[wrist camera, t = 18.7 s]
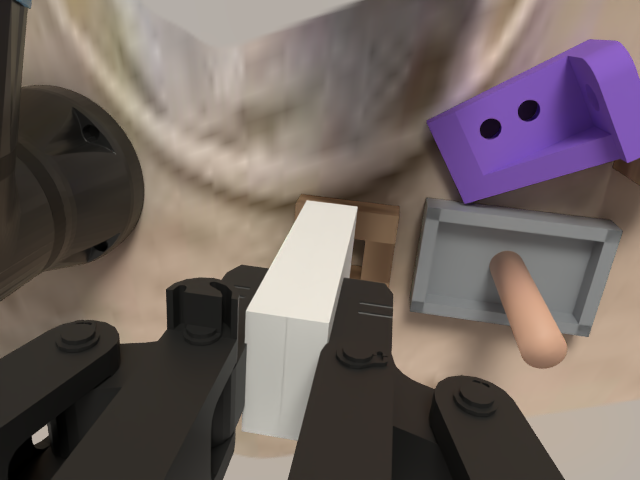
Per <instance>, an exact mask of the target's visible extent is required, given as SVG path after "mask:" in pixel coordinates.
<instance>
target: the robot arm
mask: <svg viewBox="0 0 640 480" xmlns="http://www.w3.org/2000/svg"><path fill="white" fill-rule="evenodd" d="M31 4H32V3H31V0H0V301H2V300H3V299H4V298H6V297H7V296H9V295H10V294H12V293H13V292H14V291H16V290H17V289H19V288H20V287H21V286H23V285H24V284H26V283H27V282H29V281H30V280H31V279H33V278H34V277H36V276H37V275H39V274H40V273H42V272H44V271H49V270H54V269H60V268H65V267H70V266H76V265H81V264H85V263H88V262H91V261H94V260H96V259H98V258H100V257H102V256H104V255H105V254H107V253H108V252H110V251H111V250H112V249H114V248H115V247H116V246H118V245H119V244H120V243H121V242H122V241H124V240H125V239H126V238H127V237H128V235H129V234H130V233H131V232H132V230H133V229H134V227H135V225H136V223H137V221H138V219H139V216H140V213H141V210H142V205H143V198H144V184H143V176H142V171H141V166H140V163H139V160H138V157H137V155H136V152H135V150H134V148H133V146H132V144H131V142H130V140H129V139H128V137H127V136H126V134H125V133H124V131H123V130H122V128H121V127H120V126H119V125H118V123H117V122H116V121H115V120H114V119H113V118H112V117H111V116H110V115H109V114H108V113H107V112H106V111H105V110H103V109H102V108H101V107H100V106H98V105H97V104H96V103H94V102H93V101H91V100H90V99H88V98H86V97H84V96H82V95H80V94H78V93H76V92H73V91H71V90H68V89H65V88H61V87H56V86H48V85H35V86H28V87H21V83H22V68H23V57H24V45H25V34H26V22H27V11H28V8H29V9H31ZM357 209H358V207H356V206H348V205H340V204H332V203H325V202H317V201H309V200H307V201H306V203H305V204H304V206H303V208H302V210H301V212H300V214H299V215H298V217H297V219H296V221H295V223H294V224H293V226H292V228H291V230H290V232H289V233H288V235H287V237H286V239H285V241H284V243H283V244H282V246H281V248H280V250H279V252H278V253H277V255H276V257H275V259H274V261H273V263H272V264H271V266H270V268H269V269H268V268H261V267H254V266H246V265H240V266H238V267H236V268H235V269H233V270H231V271H229V272H227V273H226V275H225V276H224V277H223V279H222V280H219V279H215V278H193V279H186V280H183V281H180V282H177V283H174V284H173V285H171V286H170V287H169V288H167V289H166V303H167V330H166V331H165V333H164V334H163V335H162V337H161V338H160V339H159V340H158V341H156V342H147V343H128V344H120V340H119V333H118V332H117V330H116V328H115V327H113V326H111V325H110V324H108V323H106V322H100V321H94V320H86V321H84V320H79V321H75V322H71V323H66V324H62V325H60V326H58V327H56V328H53V329H51V330H49V331H47V332H45V333H44V334H42V335H40V336H39V337H37V338H35V339H34V340H32V341H30V342H28V343H27V344H25V345H23V346H22V347H20V348H18V349H16V350H15V351H13V352H11V353H10V354H8V355H6V356H4V357H3V358H1V359H0V480H223V478H224V475H225V473H226V470H227V467H228V465H229V462H230V460H231V457H232V455H233V452H234V447H235V430H236V426H237V423H238V421H239V418H240V416H241V414H242V431H244V432H250V433H256V434H261V435H267V436H273V437H279V438H285V439H291V440H296V441H298V442H297V446H296V450H295V454H294V458H293V462H292V465H291V469H290V473H289V477H288V480H565V479H564V478H563V476H562V475H561V473H560V471H559V470H558V468H557V467H556V465H555V464H554V462H553V460H552V459H551V457H550V456H549V454H548V453H547V451H546V450H545V448H544V447H543V445H542V443H541V442H540V440H539V439H538V437H537V436H536V434H535V433H534V431H533V429H532V428H531V426H530V425H529V423H528V422H527V420H526V419H525V417H524V415H523V414H522V412H521V411H520V409H519V408H518V406H517V405H516V403H515V402H514V400H513V399H512V398H511V397H510V396H509V395H508V394H507V393H506V392H505V391H504V390H502V389H501V388H499V387H498V386H496V385H494V384H493V383H491V382H488V381H486V380H483V379H480V378H477V377H470V376H462V375H460V376H453V377H447V378H446V379H444V380H442V381H440V382H439V383H438V384H437V386H436V388H435V389H433V388H430V387H428V386H425V385H423V384H420V383H418V382H416V381H414V380H412V379H410V378H409V377H407V376H406V375H404V374H403V373H402V372H401V371H400V370H399V369H398V368H397V367H396V365H395V364H394V360H393V357H392V354H391V351H392V319H393V318H392V316H393V293H392V292H391V291H390V289H389V288H388V287H387V285H386V284H385V283H380V282H373V281H365V280H358V279H351V278H349V277H350V269H351V260H352V252H353V243H354V235H355V226H356V217H357ZM46 424H47V426H48V433H49V436H47V437H46V438H45V439H44V440H42V441H41V442H39V443H37V444H35V445H34V444H33V443H32V435H33V434H34V433H36V432H37V431H38V430H40V429H41V428H42V427H44V426H45V425H46Z"/></svg>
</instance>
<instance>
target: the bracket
mask: <svg viewBox="0 0 640 480" xmlns="http://www.w3.org/2000/svg"><path fill="white" fill-rule="evenodd" d="M526 100H534V101H536V102H537V103H538V107H537V111H536V113H535V114H534V115H533V116H532V117H531V118H530V119H528V120H525V121H523V120H521V119H520V118H519V116H518V108H519V106H520V104H521V103H523V102H524V101H526ZM490 118H493V119H496V120H498V121H499V122H500V124H501V126H500V129H499V131H498V132H497V133H496V134H495V135H494V136H492V137H489V138H483V137H482V136H481V134H480V126H481V124H482V123H483V122H484V121H485V120H487V119H490ZM427 124H428V126H429V129H430V131H431V133H432V135H433V137H434V139H435V141H436V144H437V146H438V148H439V150H440V152H441V154H442V156H443V159H444V161H445V163H446V165H447V167H448V169H449V171H450V174H451V176H452V178H453V180H454V182H455V184H456V186H457V189H458V191H459V193H460V195H461V197H462V199H463V201H464V204H467V203H470V202H474V201H477V200H480V199H484V198H487V197H491V196H494V195H498V194H501V193H504V192H508V191H511V190H515V189H518V188H522V187H525V186H528V185H532V184H535V183H539V182H542V181H546V180H549V179H552V178H556V177H559V176H563V175H566V174H570V173H573V172H577V171H580V170H583V169H587V168H590V167H594V166H597V165H601V164H604V163H607V162H611V161H614V160H618V159H622V160H623V161H625V162H627V163H629V162H631V161H634V160H636V159H638V158H640V79H639V76H638V73H637V70H636V67H635V65H634V62H633V60H632V58H631V56H630V55H629V53H628V51H627V50H626V49H625V47H624V46H623V45H622V44H621V43H620V42H618V41H611V40H592V39H589V40H587V41H585V42H583V43H581V44H579V45H577V46H575V47H573V48H571V49H569V50H567V51H565V52H563V53H561V54H559V55H557V56H555V57H553V58H551V59H549V60H547V61H545V62H543V63H541V64H539V65H537V66H535V67H533V68H531V69H529V70H527V71H525V72H523V73H521V74H519V75H517V76H515V77H513V78H511V79H509V80H507V81H505V82H503V83H501V84H499V85H497V86H495V87H493V88H491V89H489V90H487V91H485V92H483V93H481V94H479V95H477V96H475V97H473V98H471V99H469V100H467V101H465V102H463V103H461V104H459V105H457V106H455V107H453V108H451V109H449V110H447V111H445V112H443V113H441V114H439V115H437V116H435V117H433V118H431V119H429V120H427Z"/></svg>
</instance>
